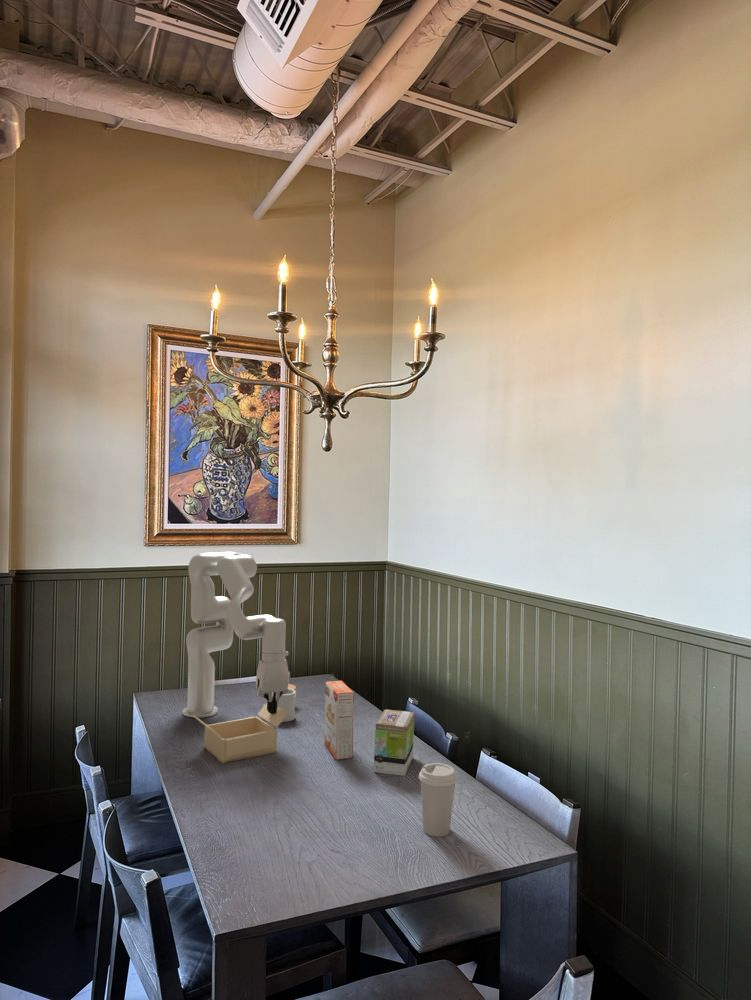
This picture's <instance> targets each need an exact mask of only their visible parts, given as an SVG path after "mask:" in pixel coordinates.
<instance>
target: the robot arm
mask: <svg viewBox="0 0 751 1000" xmlns="http://www.w3.org/2000/svg"><path fill="white" fill-rule="evenodd" d="M187 570H188V577H189V581H190V588H191V590H190V616H191V620H192V622H194V623H195V624H197V625H198V624H199V625H202V624H213V623H215V625H207V626H206V625H205V626H201V627H196V628H193V629H191V630H190V631H189V632H188V633H187V635H186V638H185V644H186V650H187V660H188V661H187V665H188V668H187V706H186V707H184V708H183V709H182V715H183V716H185V717H187V718H193V719H196V718H195V717H194V716H193V715H195V716H196V717H197V718H199V719H200V718H208V717H212V716H215V715H216V714H218V712H219V709H218V707H217V706H216V705H215V704H214V703H215V676H216V674H215V673H216V672H215V670H216V666H215V662H214V659H213V658H212V657H211V655H210V653H214V652H218V651H224V650H227V649H229V648H230V647H231V646H232V644H233V641H234V633H235V635H236V636H237V637H238V639H241V640H243V641H249V640H254V639H262V643H261V660H258V665H257V670H256V678H255V689H256V690H257V691H256V696H257V697H259V698H263V697H264V698H265V699H266V700H267V711H268V712H269V713H270V714H273V713H274V714H275V713H276V710H277V701H279V698H280V697H281V696H282V694H285V693H287V692H288V686H289V684H290V683H289V681H290V680H289V666H288V662H287V659H286V657H287V656H289V651H286V638H287V637H286V634H287V633H286V632H287V631H286V630H287V629H286V627H287V625H286V624H287V623H286V620H285V619H283V618H280V617H275V616H273V615H272V614H266V613H265V614H257V615H251V616H250V615H249V616H245V614H244V612H243V610H242V607H241V604H242V603H244V602H245V601H247V600H249V598H250V597H252V595H253V594H254V591H255V587H254V584H253V583H252V581H251V579H250V578H253V577H255V575H256V574H257V572H258V571H257V570H258V566H257V562H256V560H255V559H254V557H253V556H251V554H245V553H241V552H235V551H220V552H219V551H217V552H213V551H211V552H202V553H197V554H195V555H193V556H192V557H191V559H190V560H189V563H188V569H187ZM211 576H219V578H220V580H221V581H222V583H223V585H224V587H225V589H226V591H227V593H228V595H229V596H230V598H229V597H227V596H223V595H220V596H219V595H218V596H217V595H216V594H215V593H216V592H215V588H216V587H215V584H214V581H213V580H212V578H211ZM272 692H273V696H272Z"/></svg>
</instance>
